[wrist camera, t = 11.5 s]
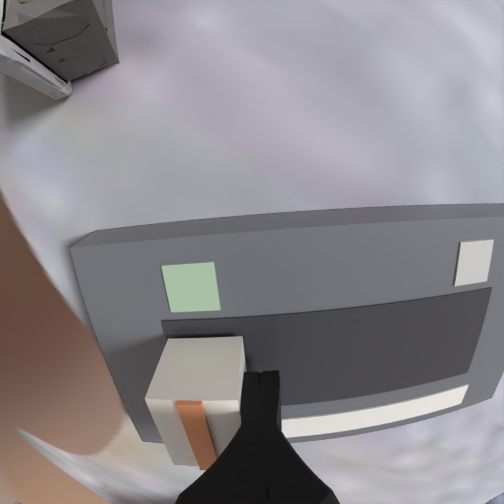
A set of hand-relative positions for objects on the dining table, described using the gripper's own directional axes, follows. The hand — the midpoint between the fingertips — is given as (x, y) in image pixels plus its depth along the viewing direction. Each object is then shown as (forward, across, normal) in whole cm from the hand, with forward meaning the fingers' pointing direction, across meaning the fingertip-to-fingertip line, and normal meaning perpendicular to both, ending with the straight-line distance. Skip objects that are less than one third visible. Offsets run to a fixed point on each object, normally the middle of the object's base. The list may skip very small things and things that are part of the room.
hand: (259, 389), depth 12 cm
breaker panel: (+4, -4, 0) cm, 5 cm away
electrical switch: (+4, +6, -17) cm, 19 cm away
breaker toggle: (+1, +2, 0) cm, 2 cm away
